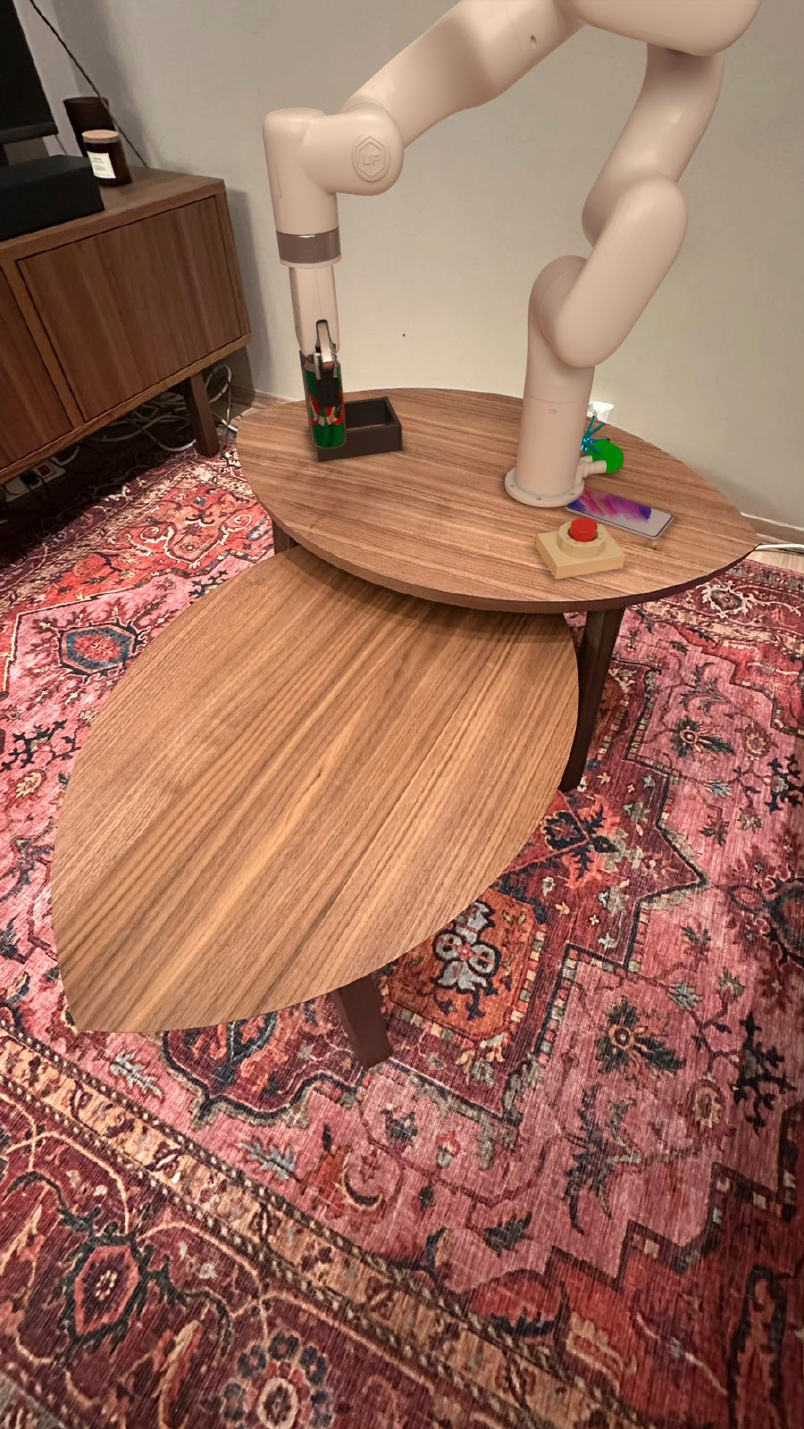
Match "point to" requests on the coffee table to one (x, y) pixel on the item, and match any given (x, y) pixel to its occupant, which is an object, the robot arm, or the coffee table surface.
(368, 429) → the brown can holder
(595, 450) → the stick construction toy
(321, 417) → the soda can
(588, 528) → the button
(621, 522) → the smartphone
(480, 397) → the coffee table surface
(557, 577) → the control block
